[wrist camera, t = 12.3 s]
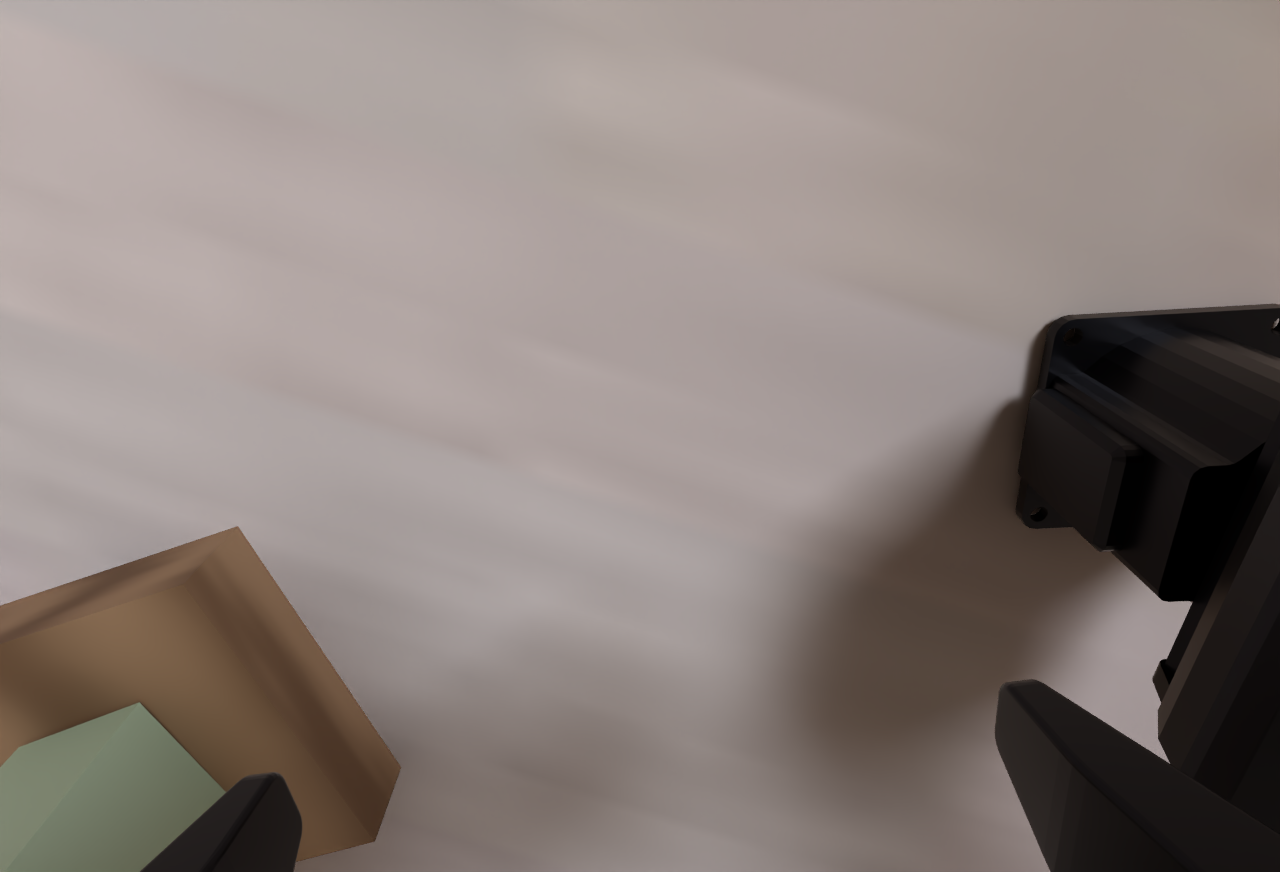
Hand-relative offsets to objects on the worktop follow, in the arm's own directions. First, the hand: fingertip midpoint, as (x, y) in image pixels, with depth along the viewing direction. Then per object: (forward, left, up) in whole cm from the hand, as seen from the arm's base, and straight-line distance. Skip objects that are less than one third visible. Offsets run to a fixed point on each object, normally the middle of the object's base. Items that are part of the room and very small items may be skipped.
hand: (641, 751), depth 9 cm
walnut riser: (+17, +11, -14) cm, 24 cm away
